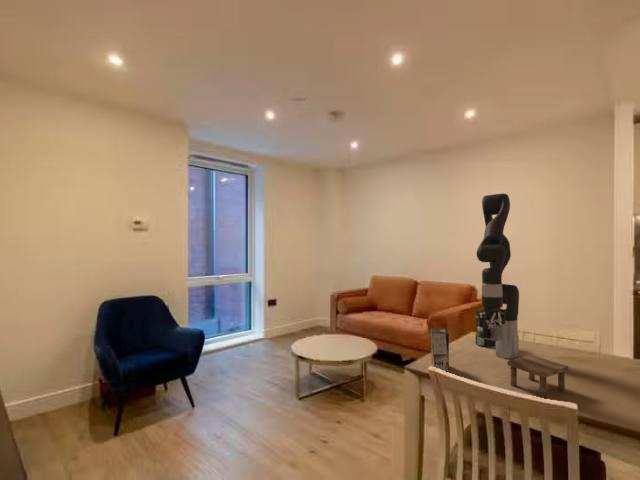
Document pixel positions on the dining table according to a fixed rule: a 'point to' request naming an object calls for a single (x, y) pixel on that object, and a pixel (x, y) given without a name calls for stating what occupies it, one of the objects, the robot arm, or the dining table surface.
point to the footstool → (538, 371)
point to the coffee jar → (482, 332)
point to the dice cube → (495, 333)
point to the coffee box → (440, 348)
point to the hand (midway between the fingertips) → (492, 336)
